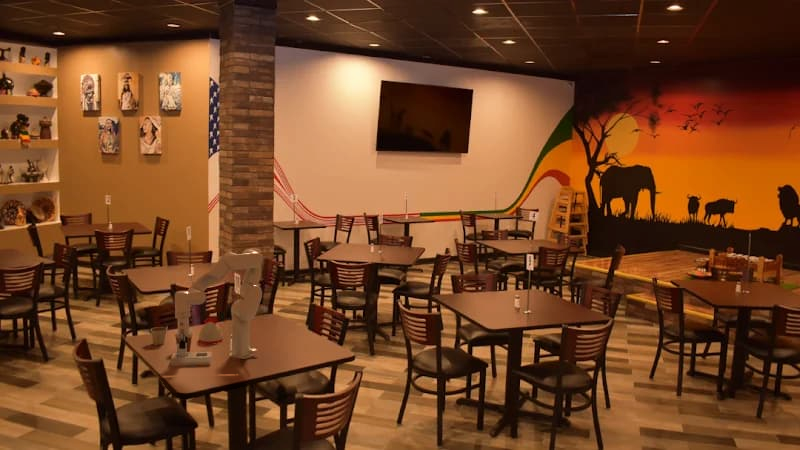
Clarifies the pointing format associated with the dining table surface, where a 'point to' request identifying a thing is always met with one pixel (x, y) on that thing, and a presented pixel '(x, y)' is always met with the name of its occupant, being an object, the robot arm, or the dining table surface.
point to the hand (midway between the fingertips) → (183, 345)
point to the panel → (192, 359)
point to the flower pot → (158, 335)
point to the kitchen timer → (210, 332)
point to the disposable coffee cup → (187, 340)
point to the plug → (182, 351)
